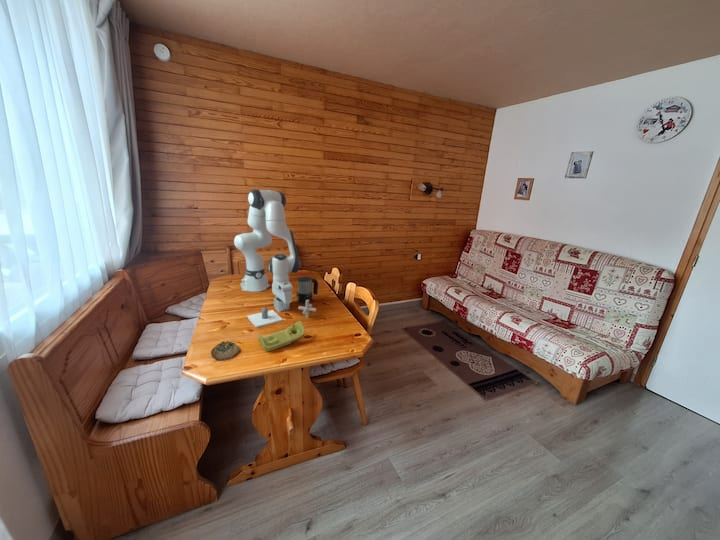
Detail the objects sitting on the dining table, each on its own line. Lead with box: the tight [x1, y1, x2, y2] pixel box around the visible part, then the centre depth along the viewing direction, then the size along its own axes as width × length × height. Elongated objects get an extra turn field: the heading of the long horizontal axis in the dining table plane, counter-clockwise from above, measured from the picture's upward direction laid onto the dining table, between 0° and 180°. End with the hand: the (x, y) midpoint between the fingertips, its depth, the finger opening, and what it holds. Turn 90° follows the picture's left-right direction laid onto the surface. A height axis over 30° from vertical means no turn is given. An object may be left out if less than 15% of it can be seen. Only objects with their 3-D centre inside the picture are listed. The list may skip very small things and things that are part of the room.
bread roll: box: [210, 340, 241, 361], centre depth 117 cm, size 11×11×5 cm
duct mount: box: [247, 307, 284, 329], centre depth 147 cm, size 14×14×6 cm
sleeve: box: [273, 297, 291, 313], centre depth 161 cm, size 7×7×6 cm
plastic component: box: [257, 320, 306, 352], centre depth 128 cm, size 20×7×10 cm
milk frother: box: [295, 276, 319, 304], centre depth 176 cm, size 14×16×15 cm
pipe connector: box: [297, 300, 317, 319], centre depth 151 cm, size 10×10×10 cm
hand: (281, 305), depth 161 cm, fingers closed on sleeve, 7 cm apart
